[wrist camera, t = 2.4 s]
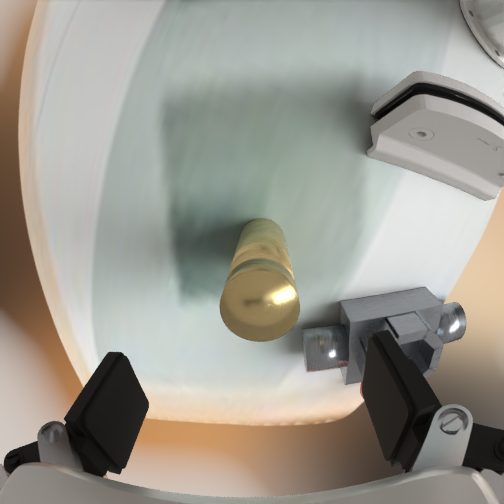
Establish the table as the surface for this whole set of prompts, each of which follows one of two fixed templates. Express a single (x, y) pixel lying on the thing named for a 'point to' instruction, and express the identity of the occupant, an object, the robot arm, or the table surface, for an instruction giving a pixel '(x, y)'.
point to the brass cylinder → (260, 285)
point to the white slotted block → (442, 133)
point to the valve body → (379, 319)
